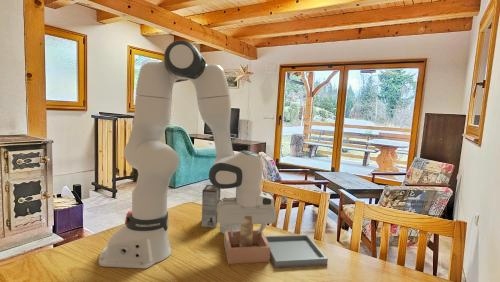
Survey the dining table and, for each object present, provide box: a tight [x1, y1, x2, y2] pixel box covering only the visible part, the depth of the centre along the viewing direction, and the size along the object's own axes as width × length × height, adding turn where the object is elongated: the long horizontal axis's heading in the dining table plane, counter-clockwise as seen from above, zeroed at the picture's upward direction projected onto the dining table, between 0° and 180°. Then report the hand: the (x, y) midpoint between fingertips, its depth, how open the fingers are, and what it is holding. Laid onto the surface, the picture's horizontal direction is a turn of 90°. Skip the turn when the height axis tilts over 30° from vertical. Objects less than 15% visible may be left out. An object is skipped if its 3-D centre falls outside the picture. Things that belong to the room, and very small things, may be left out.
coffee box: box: [201, 184, 222, 229], centre depth 125 cm, size 9×6×16 cm
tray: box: [264, 234, 329, 269], centre depth 104 cm, size 18×18×2 cm
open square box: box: [223, 229, 271, 265], centre depth 103 cm, size 14×14×5 cm
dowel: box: [239, 216, 254, 247], centre depth 102 cm, size 4×4×14 cm
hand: (246, 235), depth 102 cm, fingers open, 8 cm apart
